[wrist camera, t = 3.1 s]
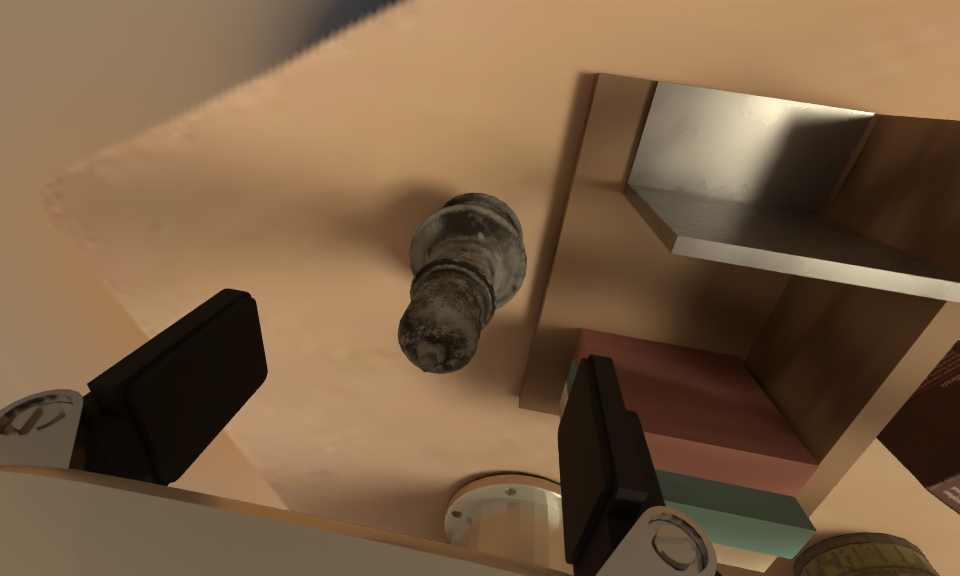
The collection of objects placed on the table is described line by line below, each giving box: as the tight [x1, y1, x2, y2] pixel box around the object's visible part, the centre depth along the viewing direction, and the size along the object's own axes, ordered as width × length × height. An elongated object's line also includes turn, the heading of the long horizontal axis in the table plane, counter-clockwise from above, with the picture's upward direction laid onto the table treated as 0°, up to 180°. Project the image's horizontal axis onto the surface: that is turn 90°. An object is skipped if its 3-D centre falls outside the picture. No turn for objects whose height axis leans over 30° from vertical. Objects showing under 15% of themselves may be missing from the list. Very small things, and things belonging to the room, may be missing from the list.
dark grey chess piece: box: [398, 193, 527, 374], centre depth 18 cm, size 6×6×12 cm
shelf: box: [519, 73, 960, 572], centre depth 18 cm, size 20×13×10 cm, turn 172°
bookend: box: [623, 81, 960, 303], centre depth 15 cm, size 5×9×8 cm, turn 82°
